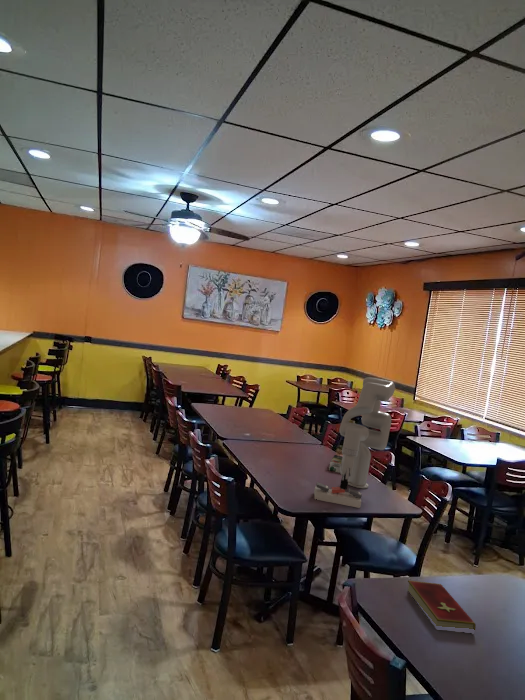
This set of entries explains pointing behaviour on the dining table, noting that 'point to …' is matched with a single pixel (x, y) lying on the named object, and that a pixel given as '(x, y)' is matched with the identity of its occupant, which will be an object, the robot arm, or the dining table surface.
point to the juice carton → (335, 463)
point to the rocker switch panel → (337, 497)
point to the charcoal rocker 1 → (322, 486)
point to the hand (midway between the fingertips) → (343, 488)
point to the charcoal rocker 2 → (355, 493)
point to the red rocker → (337, 490)
